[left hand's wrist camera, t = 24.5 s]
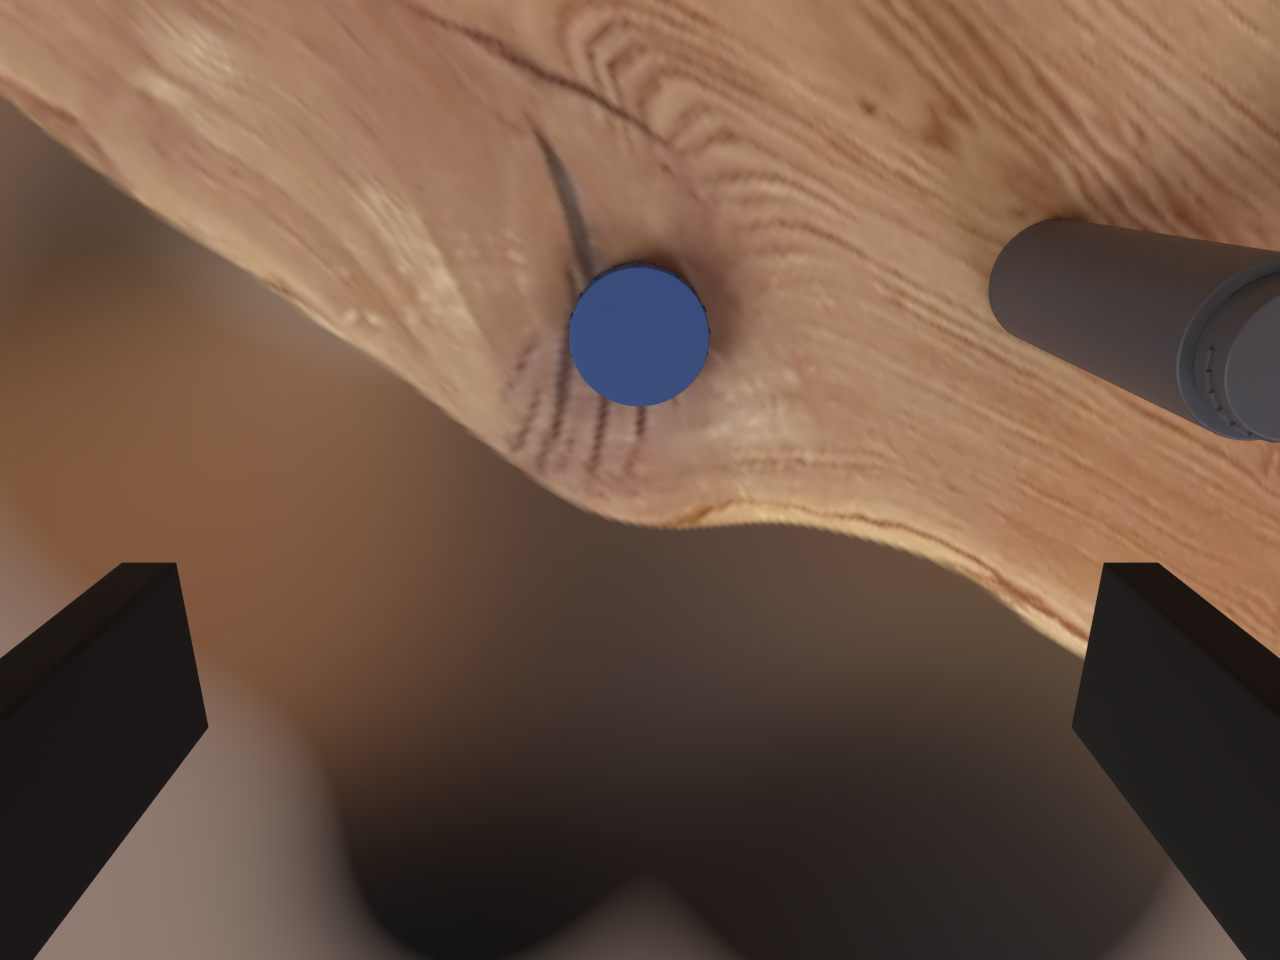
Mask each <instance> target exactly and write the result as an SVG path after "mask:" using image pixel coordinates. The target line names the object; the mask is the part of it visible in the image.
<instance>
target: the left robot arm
mask: <svg viewBox="0 0 1280 960" xmlns="http://www.w3.org/2000/svg"><path fill="white" fill-rule="evenodd" d="M207 728H208V723H207V718H206V713H205V707H204V702H203V697H202V692H201V687H200V682H199V677H198V672H197V667H196V662H195V656H194V651H193V646H192V641H191V636H190V631H189V626H188V621H187V616H186V611H185V606H184V601H183V595H182V590H181V585H180V580H179V575H178V570H177V565H176V563H121V564H120V565H118V566H117V567H116V568H115V569H113V570H112V571H111V572H109V573H108V574H107V575H106V576H104V577H103V578H102V579H101V580H99V581H98V582H97V583H96V584H94V585H93V586H92V587H90V588H89V589H88V590H87V591H85V592H84V593H83V594H82V595H80V596H79V597H78V598H76V599H75V600H74V601H73V602H71V603H70V604H69V605H68V606H66V607H65V608H64V609H63V610H61V611H60V612H59V613H57V614H56V615H55V616H54V617H52V618H51V619H50V620H49V621H47V622H46V623H45V624H43V625H42V626H41V627H40V628H38V629H37V630H36V631H35V632H33V633H32V634H31V635H30V636H28V637H27V638H26V639H24V640H23V641H22V642H21V643H19V644H18V645H17V646H16V647H14V648H13V649H12V650H10V651H9V652H8V653H7V654H5V655H4V656H3V657H2V658H0V960H33V959H34V958H35V957H36V955H37V954H38V953H39V951H40V950H41V949H42V947H43V946H44V945H45V943H46V942H47V941H48V939H49V938H50V937H51V935H52V934H53V933H54V931H55V930H56V929H57V927H58V926H59V925H60V923H61V922H62V921H63V919H64V918H65V917H66V916H67V914H68V913H69V912H70V910H71V909H72V908H73V906H74V905H75V904H76V902H77V901H78V900H79V898H80V897H81V896H82V894H83V893H84V892H85V890H86V889H87V888H88V886H89V885H90V884H91V882H92V881H93V880H94V878H95V877H96V876H97V874H98V873H99V872H100V870H101V869H102V868H103V866H104V865H105V864H106V862H107V861H108V860H109V858H110V857H111V856H112V854H113V853H114V852H115V851H116V849H117V848H118V847H119V845H120V844H121V843H122V841H123V840H124V839H125V837H126V836H127V835H128V833H129V832H130V831H131V829H132V828H133V827H134V825H135V824H136V823H137V821H138V820H139V819H140V817H141V816H142V815H143V813H144V812H145V811H146V809H147V808H148V807H149V805H150V804H151V803H152V801H153V800H154V799H155V797H156V796H157V795H158V793H159V792H160V791H161V789H162V788H163V787H164V785H165V784H166V783H167V782H168V780H169V779H170V778H171V776H172V775H173V773H174V772H175V771H176V770H177V768H178V767H179V766H180V764H181V763H182V762H183V760H184V759H185V758H186V756H187V755H188V754H189V752H190V751H191V750H192V748H193V747H194V746H195V744H196V743H197V742H198V740H199V739H200V738H201V736H202V735H203V734H204V732H205V731H206V730H207ZM1072 728H1073V730H1074V731H1075V732H1076V734H1077V735H1078V736H1079V738H1080V739H1081V740H1082V742H1083V743H1084V744H1085V746H1086V747H1087V748H1088V750H1089V751H1090V752H1091V754H1092V755H1093V756H1094V758H1095V759H1096V760H1097V762H1098V763H1099V764H1100V766H1101V767H1102V768H1103V770H1104V771H1105V772H1106V774H1107V775H1108V776H1109V777H1110V779H1111V780H1112V782H1113V783H1114V784H1115V785H1116V787H1117V788H1118V789H1119V791H1120V792H1121V793H1122V795H1123V796H1124V797H1125V799H1126V800H1127V801H1128V803H1129V804H1130V805H1131V807H1132V808H1133V809H1134V811H1135V812H1136V813H1137V815H1138V816H1139V817H1140V819H1141V820H1142V821H1143V823H1144V824H1145V825H1146V827H1147V828H1148V829H1149V831H1150V832H1151V833H1152V835H1153V836H1154V837H1155V839H1156V840H1157V841H1158V843H1159V844H1160V845H1161V846H1162V848H1163V849H1164V850H1165V852H1166V853H1167V854H1168V856H1169V857H1170V858H1171V860H1172V861H1173V862H1174V864H1175V865H1176V866H1177V868H1178V869H1179V870H1180V872H1181V873H1182V874H1183V876H1184V877H1185V878H1186V880H1187V881H1188V882H1189V884H1190V885H1191V886H1192V888H1193V889H1194V890H1195V892H1196V893H1197V894H1198V896H1199V897H1200V898H1201V900H1202V901H1203V902H1204V904H1205V905H1206V906H1207V908H1208V909H1209V910H1210V912H1211V913H1212V914H1213V915H1214V917H1215V918H1216V919H1217V921H1218V922H1219V923H1220V925H1221V926H1222V927H1223V929H1224V930H1225V931H1226V933H1227V934H1228V935H1229V937H1230V938H1231V939H1232V941H1233V942H1234V943H1235V945H1236V946H1237V947H1238V949H1239V950H1240V951H1241V953H1242V954H1243V955H1244V957H1245V958H1246V959H1247V960H1280V658H1278V657H1277V656H1276V655H1275V654H1273V653H1272V652H1271V651H1270V650H1268V649H1267V648H1266V647H1264V646H1263V645H1262V644H1261V643H1259V642H1258V641H1257V640H1256V639H1254V638H1253V637H1252V636H1251V635H1249V634H1248V633H1247V632H1245V631H1244V630H1243V629H1242V628H1240V627H1239V626H1238V625H1237V624H1235V623H1234V622H1233V621H1231V620H1230V619H1229V618H1228V617H1226V616H1225V615H1224V614H1223V613H1221V612H1220V611H1219V610H1218V609H1216V608H1215V607H1214V606H1212V605H1211V604H1210V603H1209V602H1207V601H1206V600H1205V599H1204V598H1202V597H1201V596H1200V595H1198V594H1197V593H1196V592H1195V591H1193V590H1192V589H1191V588H1190V587H1188V586H1187V585H1186V584H1184V583H1183V582H1182V581H1181V580H1179V579H1178V578H1177V577H1176V576H1174V575H1173V574H1172V573H1171V572H1169V571H1168V570H1167V569H1165V568H1164V567H1163V566H1162V565H1160V564H1159V563H1104V565H1103V570H1102V575H1101V580H1100V585H1099V590H1098V595H1097V600H1096V606H1095V611H1094V616H1093V621H1092V626H1091V631H1090V636H1089V641H1088V646H1087V651H1086V656H1085V662H1084V667H1083V672H1082V677H1081V682H1080V687H1079V692H1078V697H1077V702H1076V708H1075V712H1074V718H1073V723H1072Z"/></svg>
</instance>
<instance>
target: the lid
mask: <svg viewBox="0 0 1280 960" xmlns="http://www.w3.org/2000/svg"><path fill="white" fill-rule="evenodd" d="M695 292H696V290H695V288H694V287H693V286H692V287H691V286H690V285H689V284H688V283H687V282H686V281H685V280H684V279H683V278H682V277H680V276H679V273H678V272H677V271H676V273H675V272H673V271H671V270H669V269H667V268H665V267H662V266H659V263H656V265H655V264H650V263H640V262H638V263H637V261H634V263H628V264H623V265H619V266H617V267H615V265H613V266H612V268H611V269H609V270H608V271H606V272H604V273H602V274H601V275H600V276H598V277H596V276H595V277H594V278H593V280H592V282H591V283H590V284H589V286H588V287H587V288H586V289H585V291H584V292H583V294H582V293H580V295H579V297H578V299H579V301H578V303H577V305H576V308H575V310H574V312H573V313H572V314H571V316H570V320H571V324H570V330H569V338H568V342H570V350H571V354H572V358H573V362H574V363H575V366H576V367H577V369H578V371H579V373H580V375H581V376H582V377H583V379H584V380H585V381H586V382H587V383H588V385H589V386H590V387H591V388H593V389H594V390H595V391H596V392H597V393H599V394H600V395H602V396H604V397H605V398H607V399H609V400H611V401H614V402H617V403H620V404H624V405H629V406H650V405H655V404H659V403H662V402H665V401H667V400H669V399H671V398H673V397H675V396H676V395H678V394H680V393H681V392H682V391H683V390H685V389H686V388H687V387H688V386H689V385H690V384H691V383H692V382H693V381H694V379H695V378H696V377H697V375H698V374H699V372H700V370H701V368H702V366H703V364H704V362H705V359H706V356H707V355H708V347H709V334H711V332H710V329H709V326H708V321H707V318H706V314H705V312H707V311H706V308H705V306H704V305H703V306H702V304H701V302H700V300H699V298H698V296H697V295H696V293H695Z"/></svg>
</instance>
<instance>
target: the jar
mask: <svg viewBox="0 0 1280 960" xmlns="http://www.w3.org/2000/svg"><path fill="white" fill-rule="evenodd" d="M989 298H990V303H991V308H992V310H993V313H994V315H995V317H996V319H997V320H998V322H999V323H1000V324H1001V326H1002V327H1003V328H1004V329H1005V330H1006V331H1008V332H1009V333H1010V334H1012V335H1013V336H1015V337H1017V338H1019V339H1021V340H1023V341H1025V342H1027V343H1029V344H1032V345H1034V346H1036V347H1038V348H1040V349H1042V350H1044V351H1046V352H1048V353H1050V354H1052V355H1054V356H1056V357H1058V358H1060V359H1062V360H1065V361H1067V362H1069V363H1071V364H1073V365H1075V366H1077V367H1079V368H1081V369H1083V370H1085V371H1087V372H1089V373H1091V374H1093V375H1095V376H1098V377H1100V378H1102V379H1104V380H1106V381H1108V382H1110V383H1112V384H1114V385H1116V386H1118V387H1120V388H1122V389H1124V390H1126V391H1128V392H1131V393H1133V394H1135V395H1137V396H1139V397H1141V398H1143V399H1145V400H1147V401H1149V402H1151V403H1153V404H1155V405H1157V406H1159V407H1161V408H1164V409H1166V410H1168V411H1170V412H1172V413H1174V414H1176V415H1178V416H1180V417H1182V418H1184V419H1186V420H1188V421H1190V422H1192V423H1194V424H1197V425H1199V426H1201V427H1203V428H1205V429H1207V430H1209V431H1211V432H1213V433H1215V434H1217V435H1220V436H1223V437H1226V438H1230V439H1237V440H1264V441H1268V442H1271V443H1276V442H1280V252H1277V251H1271V250H1264V249H1258V248H1251V247H1244V246H1238V245H1231V244H1225V243H1218V242H1212V241H1205V240H1198V239H1192V238H1185V237H1179V236H1172V235H1166V234H1159V233H1152V232H1146V231H1139V230H1133V229H1126V228H1119V227H1113V226H1106V225H1100V224H1093V223H1087V222H1080V221H1073V220H1067V219H1055V220H1048V221H1044V222H1040V223H1037V224H1035V225H1032V226H1031V227H1029V228H1027V229H1025V230H1024V231H1022V232H1021V233H1019V234H1018V235H1017V236H1015V237H1014V238H1013V239H1012V240H1011V241H1010V242H1009V243H1008V244H1007V245H1006V246H1005V248H1004V249H1003V251H1002V252H1001V253H1000V255H999V257H998V259H997V260H996V262H995V265H994V267H993V270H992V273H991V277H990V283H989Z"/></svg>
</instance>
